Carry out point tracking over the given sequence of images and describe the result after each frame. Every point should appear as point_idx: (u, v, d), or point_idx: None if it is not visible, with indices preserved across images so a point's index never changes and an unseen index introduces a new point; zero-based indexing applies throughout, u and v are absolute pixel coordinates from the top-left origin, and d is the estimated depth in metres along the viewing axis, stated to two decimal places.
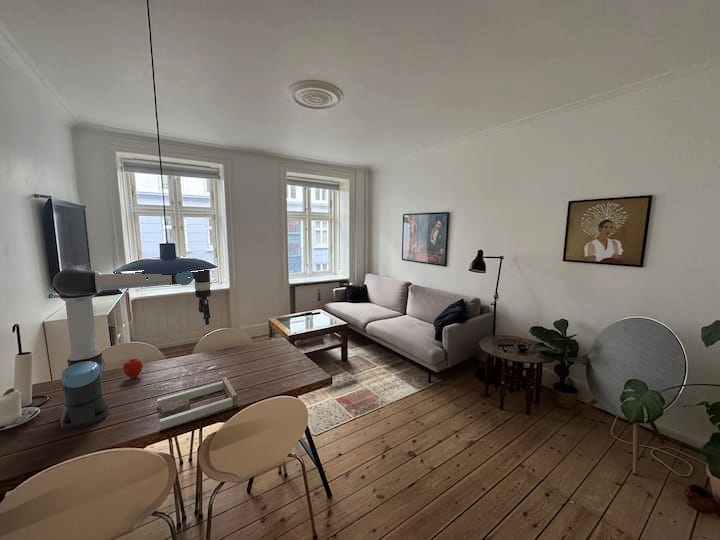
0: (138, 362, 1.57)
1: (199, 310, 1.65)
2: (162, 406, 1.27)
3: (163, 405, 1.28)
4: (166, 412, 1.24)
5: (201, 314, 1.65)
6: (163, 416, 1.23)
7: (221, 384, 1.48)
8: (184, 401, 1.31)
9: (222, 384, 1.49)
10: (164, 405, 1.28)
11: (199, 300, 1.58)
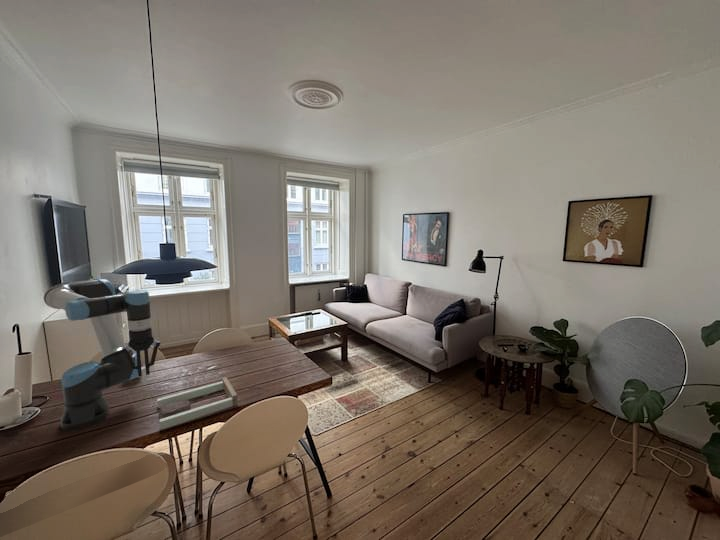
0: None
1: None
2: (162, 408, 1.26)
3: (163, 407, 1.27)
4: (166, 414, 1.23)
5: None
6: None
7: (221, 384, 1.48)
8: (184, 402, 1.30)
9: (222, 384, 1.49)
10: (164, 407, 1.27)
11: None
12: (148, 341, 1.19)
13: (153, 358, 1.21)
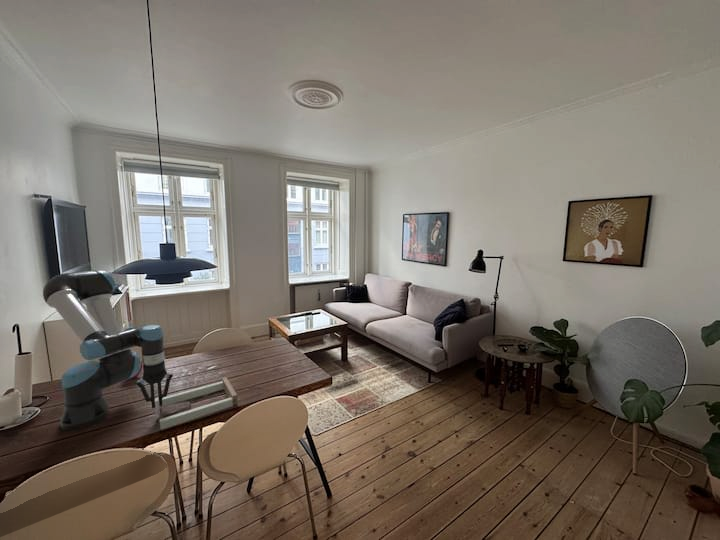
0: None
1: None
2: (162, 409, 1.25)
3: (163, 408, 1.26)
4: (167, 415, 1.22)
5: None
6: None
7: (221, 384, 1.48)
8: (185, 403, 1.29)
9: (222, 384, 1.49)
10: (164, 408, 1.26)
11: None
12: (161, 374, 1.24)
13: (166, 390, 1.25)
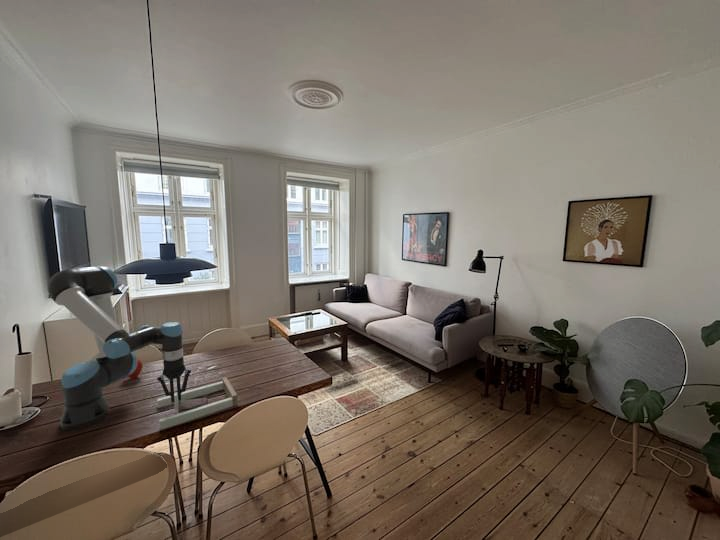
0: (138, 362, 1.57)
1: None
2: (181, 403, 1.29)
3: (182, 402, 1.30)
4: (183, 410, 1.25)
5: None
6: None
7: (221, 384, 1.48)
8: (202, 400, 1.32)
9: (222, 384, 1.49)
10: (183, 402, 1.30)
11: None
12: (180, 369, 1.28)
13: (184, 385, 1.29)
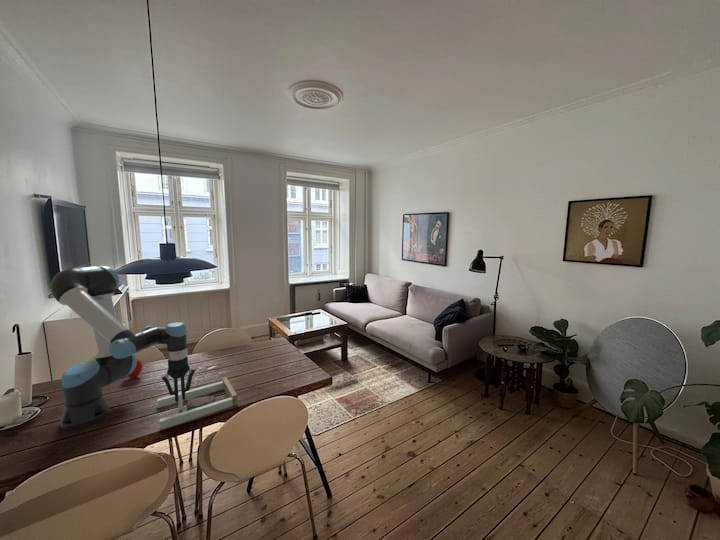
0: (138, 362, 1.57)
1: None
2: (189, 401, 1.31)
3: (190, 400, 1.32)
4: (191, 407, 1.27)
5: None
6: None
7: (221, 384, 1.48)
8: (209, 398, 1.34)
9: (222, 384, 1.49)
10: (191, 400, 1.32)
11: None
12: (184, 369, 1.29)
13: (188, 384, 1.31)
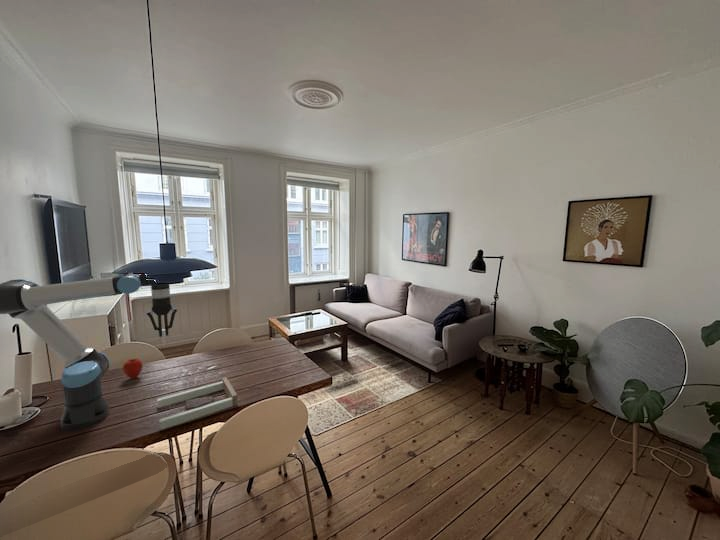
0: (138, 362, 1.57)
1: None
2: (187, 402, 1.31)
3: (188, 401, 1.32)
4: (190, 408, 1.27)
5: None
6: None
7: (221, 384, 1.48)
8: (208, 398, 1.34)
9: (222, 384, 1.49)
10: (189, 401, 1.32)
11: None
12: (167, 307, 1.45)
13: (171, 322, 1.47)
